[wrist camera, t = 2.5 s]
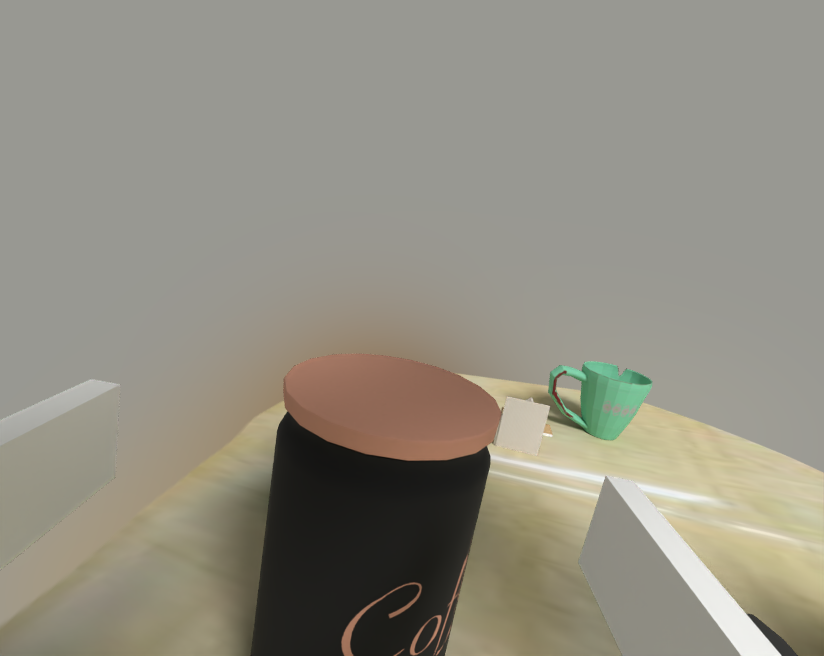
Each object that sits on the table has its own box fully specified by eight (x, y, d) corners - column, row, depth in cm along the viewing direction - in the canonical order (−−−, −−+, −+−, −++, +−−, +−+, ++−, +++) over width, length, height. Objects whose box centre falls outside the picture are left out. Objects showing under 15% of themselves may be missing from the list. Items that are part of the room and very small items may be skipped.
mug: (616, 424, 74) (633, 367, 72) (645, 453, 65) (666, 389, 62) (530, 409, 74) (544, 352, 72) (547, 436, 64) (564, 371, 62)
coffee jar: (317, 853, 19) (387, 469, 15) (213, 657, 26) (241, 362, 22) (470, 692, 26) (543, 412, 22) (358, 575, 33) (398, 346, 29)
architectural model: (492, 437, 62) (504, 387, 60) (543, 449, 61) (556, 399, 59) (492, 448, 59) (505, 396, 57) (545, 461, 58) (560, 408, 56)
